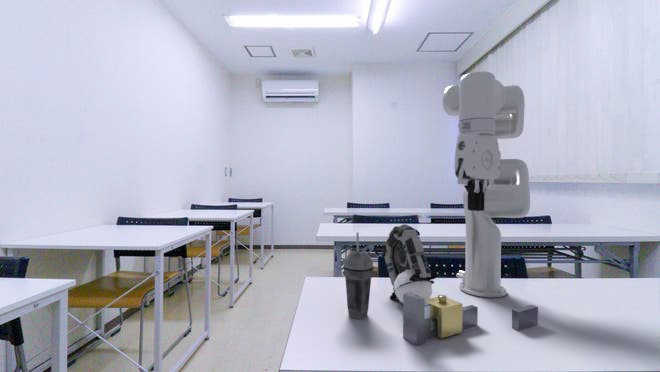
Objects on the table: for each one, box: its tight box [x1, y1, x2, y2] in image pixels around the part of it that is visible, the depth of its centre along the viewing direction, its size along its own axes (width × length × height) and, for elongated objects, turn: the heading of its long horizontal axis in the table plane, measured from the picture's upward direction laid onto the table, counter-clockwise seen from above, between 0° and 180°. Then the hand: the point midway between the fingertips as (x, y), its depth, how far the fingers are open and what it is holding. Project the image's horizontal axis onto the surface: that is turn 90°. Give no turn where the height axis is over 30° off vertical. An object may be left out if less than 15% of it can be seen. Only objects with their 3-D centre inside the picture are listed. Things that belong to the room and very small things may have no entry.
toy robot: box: [381, 223, 439, 304], centre depth 90 cm, size 18×10×22 cm
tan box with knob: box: [425, 294, 463, 339], centre depth 71 cm, size 6×6×7 cm
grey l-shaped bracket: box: [402, 292, 479, 347], centre depth 72 cm, size 4×19×9 cm, turn 118°
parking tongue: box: [511, 304, 539, 332], centre depth 75 cm, size 2×7×4 cm, turn 118°
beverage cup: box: [343, 232, 375, 320], centre depth 80 cm, size 7×7×20 cm
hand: (475, 210), depth 76 cm, fingers closed
